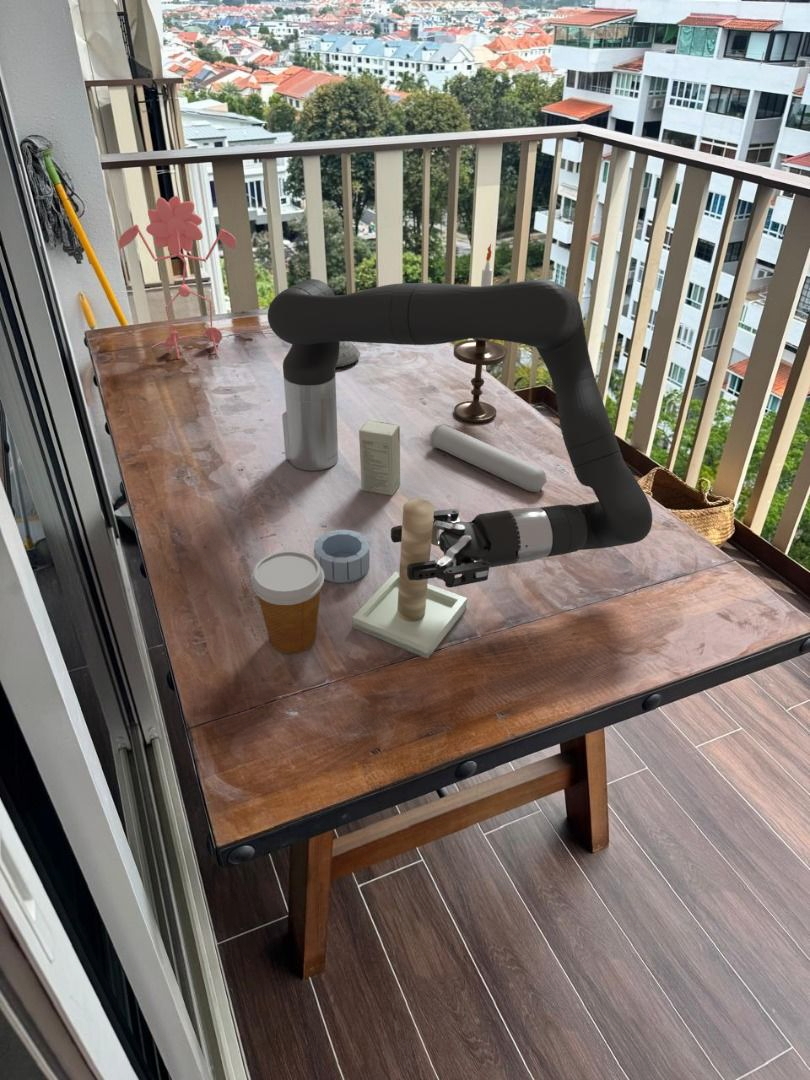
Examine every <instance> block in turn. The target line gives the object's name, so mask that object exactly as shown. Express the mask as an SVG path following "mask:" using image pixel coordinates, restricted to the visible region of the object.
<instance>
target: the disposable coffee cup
mask: <svg viewBox="0 0 810 1080" xmlns="http://www.w3.org/2000/svg"><path fill="white" fill-rule="evenodd" d="M324 577H325V575H324V571H323V569H322V567H321V566H320V565H319V563H318V561H317V560H316V559H315V558H314V555H311V554H309V553H306V552H304V551H300V550H281V551H277V552H274V553H273V552H272V553H271V554H269V555H267V556H265V557H263V558H262V559H260V560H259V561H258V562H257V564H256V565H255V567H254V569H253V572H252V574H251V578H250V584H251V587H252V590H253V592H254V593H255V594H256V597H257V599H258V602H259V605H260V609H261V613H262V616H263V620H264V623H265V626H266V630H267V634H268V637H269V641H270V646H272V648H274V650H276V651H278V652H280V653H283V654H291V655H292V654H299V653H302V652H305V651H307V650H308V649H310V648H311V647H312V646H313V645H314V644H315V642H316V638H317V631H318V630H317V628H318V619H319V610H320V609H319V608H320V599H321V590H322V587H323V584H324V582H325V580H324Z"/></svg>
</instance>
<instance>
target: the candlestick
mask: <svg viewBox="0 0 810 1080" xmlns="http://www.w3.org/2000/svg"><path fill="white" fill-rule="evenodd" d="M491 247H492V243H490V244H489V246H488V247H487V251H488V252H487V254H486V263H485V266H484V268H482V271H481V281H480V282H481V284H480V286H491V285H492V274H493V269H492V268H491V265H490V260H491V257H492V249H491ZM490 340H491V339H481V338H471V339H467V340H462V341H461V342H458V343H456V344H455V345H454V346H453V351H452V353H453V357H454V358H455V359H456V360H458V361H460V362H462V363H465V364H470V365H475V372H474V377H473V378H472V379H471V380H470V383H471V385H472V386H473V389H471V390H470V394H471V395H472V400H466V401H462V402H460V403H459V402H458V404H456V405H455V406H454V407H453V415H454V417H455V418H456V419H457V420H458V421H461V422H463V423H468V424H472V425H473V424H475V425H476V424H478V425H479V424H480V425H481V424H487V423H490V422H492V421H494V420H495V419H496V417H497V409H496V408H495V406H493V405H492V404H490V403H487V402H485V401H484V402H483V401H480V397H481V396H482V395H483V390H482V387H483V386H484V384H485V379H483V378H482V375H483V373H482V372H483V366H493V365H497V364H501V363H502V362H504V361H505V360H506V359H507V355H508V349H507V348H506V347H505V346H504V345H502V344H500V343H497V342H495V341H490Z"/></svg>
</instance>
